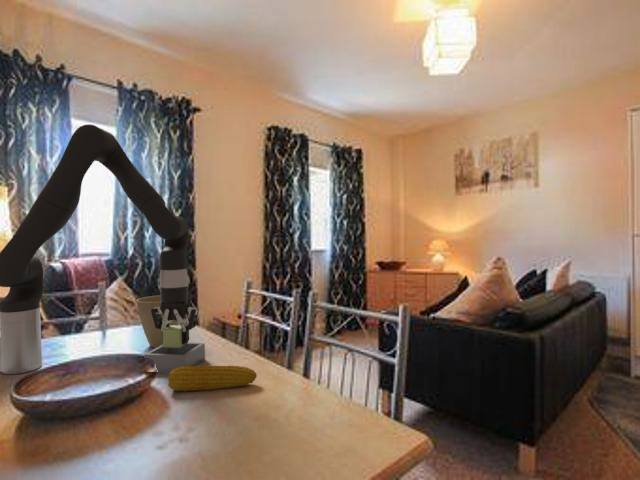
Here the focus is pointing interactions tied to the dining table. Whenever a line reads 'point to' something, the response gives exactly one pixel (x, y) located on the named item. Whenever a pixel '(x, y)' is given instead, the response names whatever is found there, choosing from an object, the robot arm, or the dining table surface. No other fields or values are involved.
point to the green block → (172, 336)
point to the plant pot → (151, 319)
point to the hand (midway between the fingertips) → (175, 343)
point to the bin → (177, 356)
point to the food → (210, 377)
